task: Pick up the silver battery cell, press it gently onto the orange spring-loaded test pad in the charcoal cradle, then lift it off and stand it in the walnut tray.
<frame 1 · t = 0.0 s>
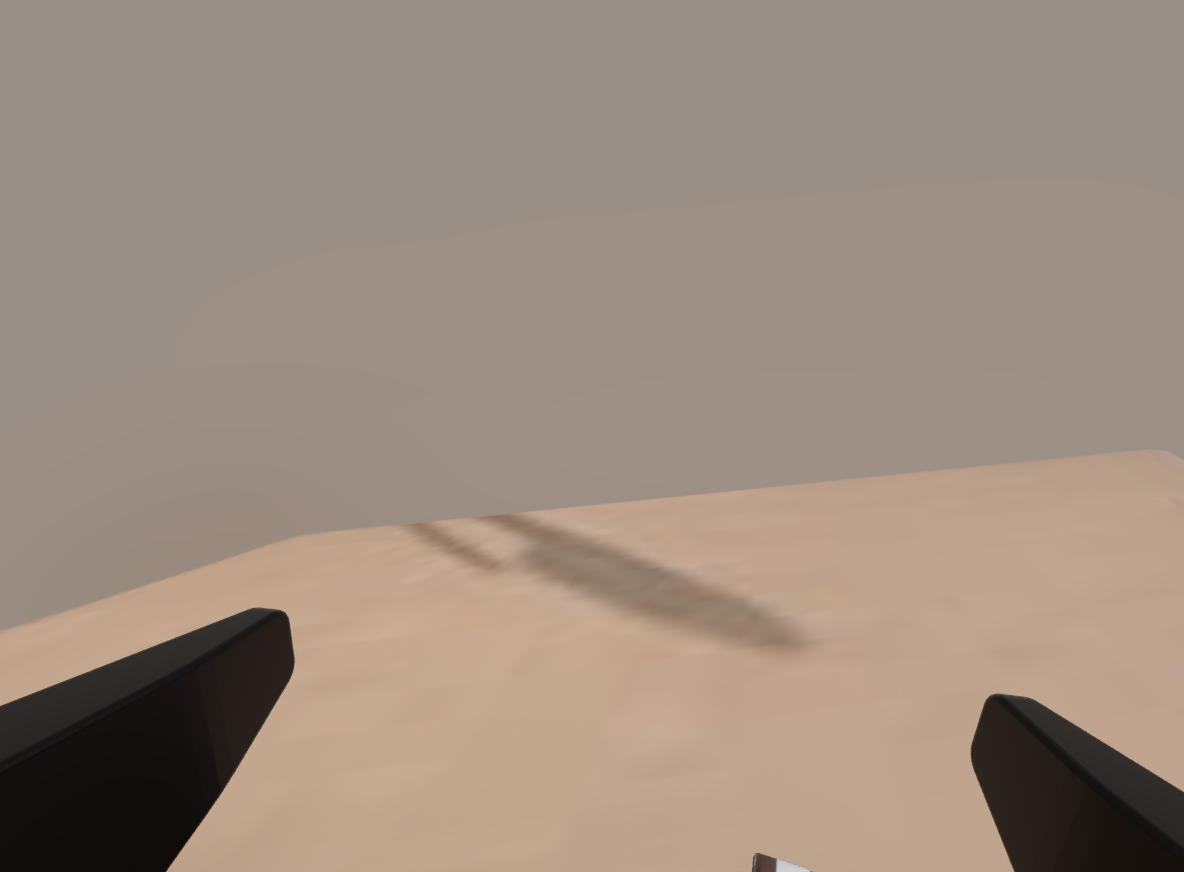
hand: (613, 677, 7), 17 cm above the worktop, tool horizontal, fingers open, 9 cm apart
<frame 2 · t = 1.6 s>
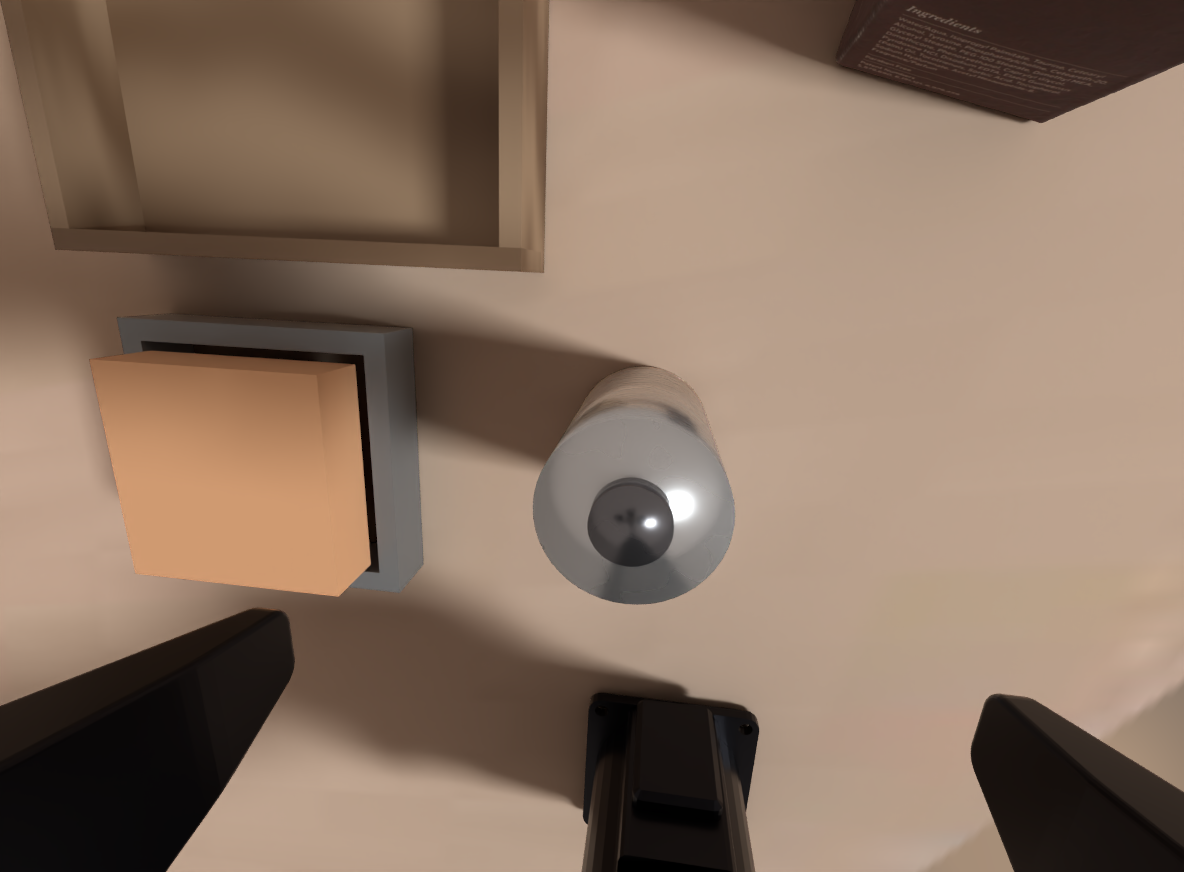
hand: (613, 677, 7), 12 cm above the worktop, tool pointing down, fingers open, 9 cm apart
tray: (322, 73, 17), on the worktop
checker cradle: (301, 443, 20), on the worktop
cell: (641, 430, 19), on the worktop
test pad: (242, 471, 17), point 3 cm above the worktop, slide at 0.0 cm
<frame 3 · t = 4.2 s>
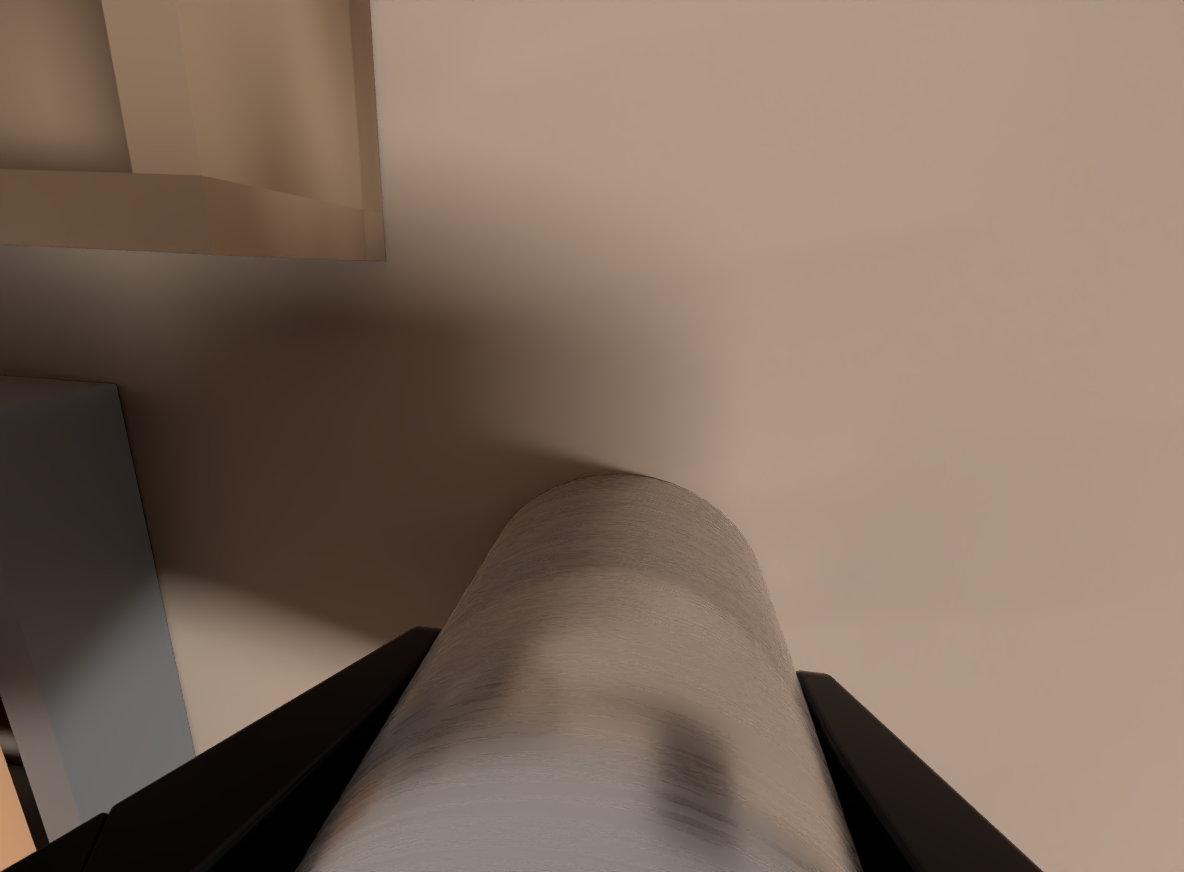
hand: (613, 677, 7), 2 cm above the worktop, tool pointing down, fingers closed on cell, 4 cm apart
cell: (621, 606, 9), on the worktop, touching gripper
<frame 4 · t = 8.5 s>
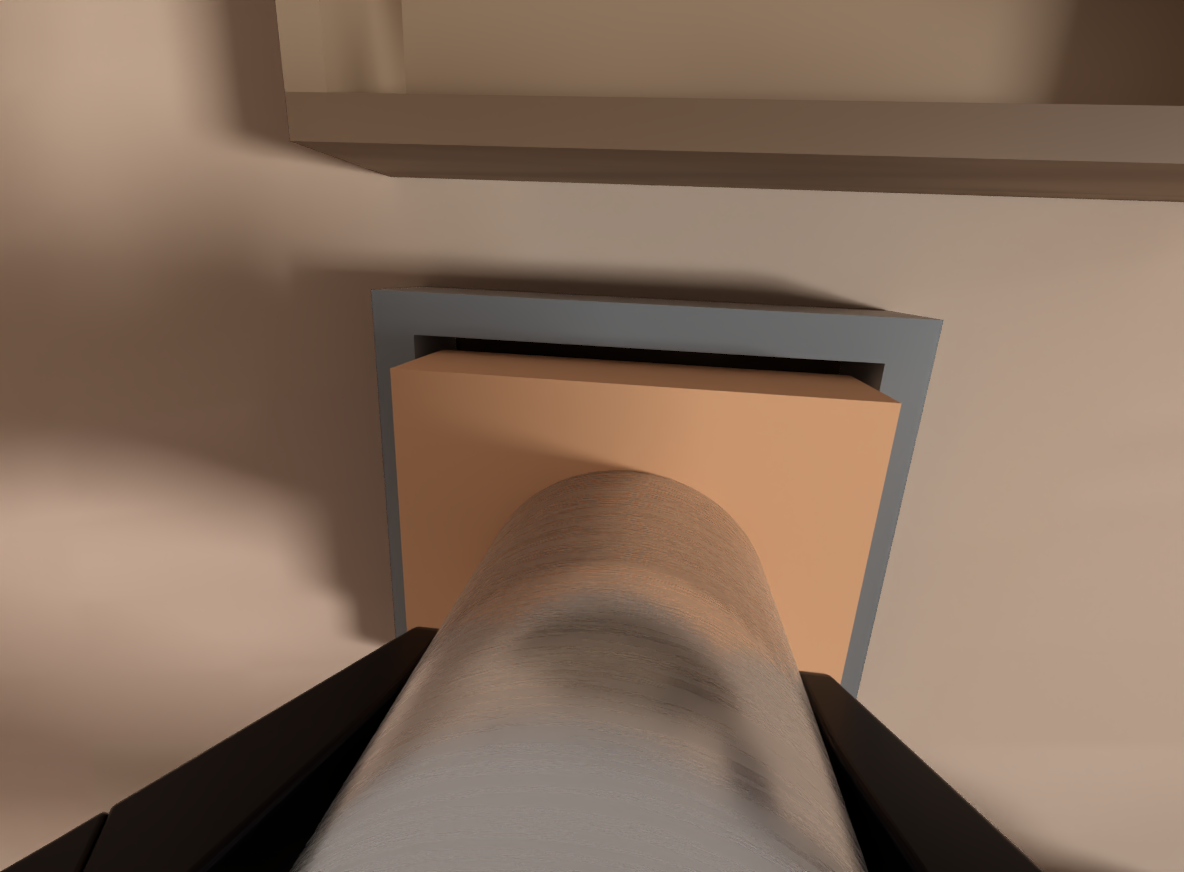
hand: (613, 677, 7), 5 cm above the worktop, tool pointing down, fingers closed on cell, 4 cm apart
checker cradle: (630, 511, 12), on the worktop
cell: (621, 602, 8), point 3 cm above the worktop, touching gripper, test pad
test pad: (622, 572, 9), point 2 cm above the worktop, slide at 0.5 cm, touching cell
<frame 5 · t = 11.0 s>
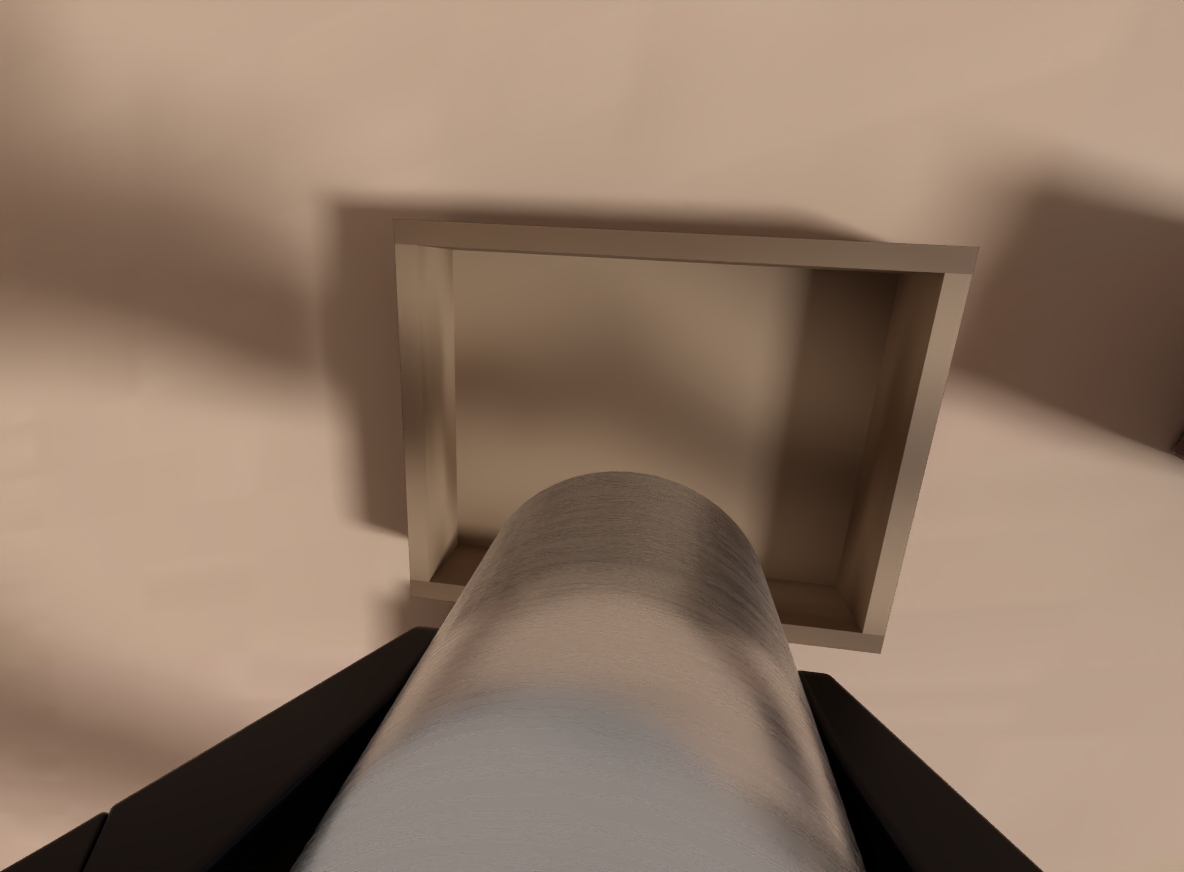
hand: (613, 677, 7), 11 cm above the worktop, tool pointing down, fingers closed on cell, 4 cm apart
tray: (652, 421, 18), on the worktop
cell: (621, 604, 8), point 10 cm above the worktop, touching gripper
when the fingers open (3 cm above the worktop, at t = 12.9 s): cell stays where it is, resting on tray.
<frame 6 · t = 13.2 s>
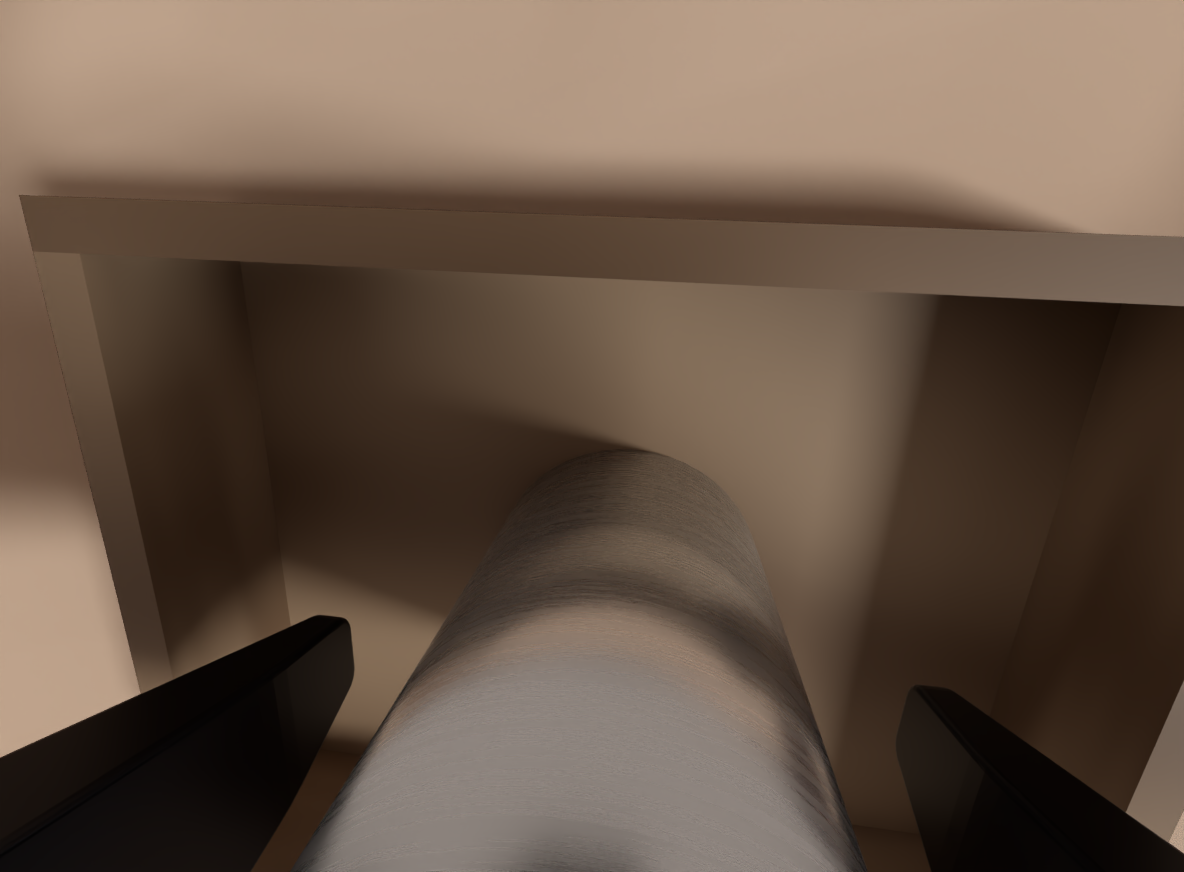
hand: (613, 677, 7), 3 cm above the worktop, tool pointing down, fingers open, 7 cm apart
tray: (626, 558, 10), on the worktop
cell: (625, 570, 9), point 1 cm above the worktop, touching tray
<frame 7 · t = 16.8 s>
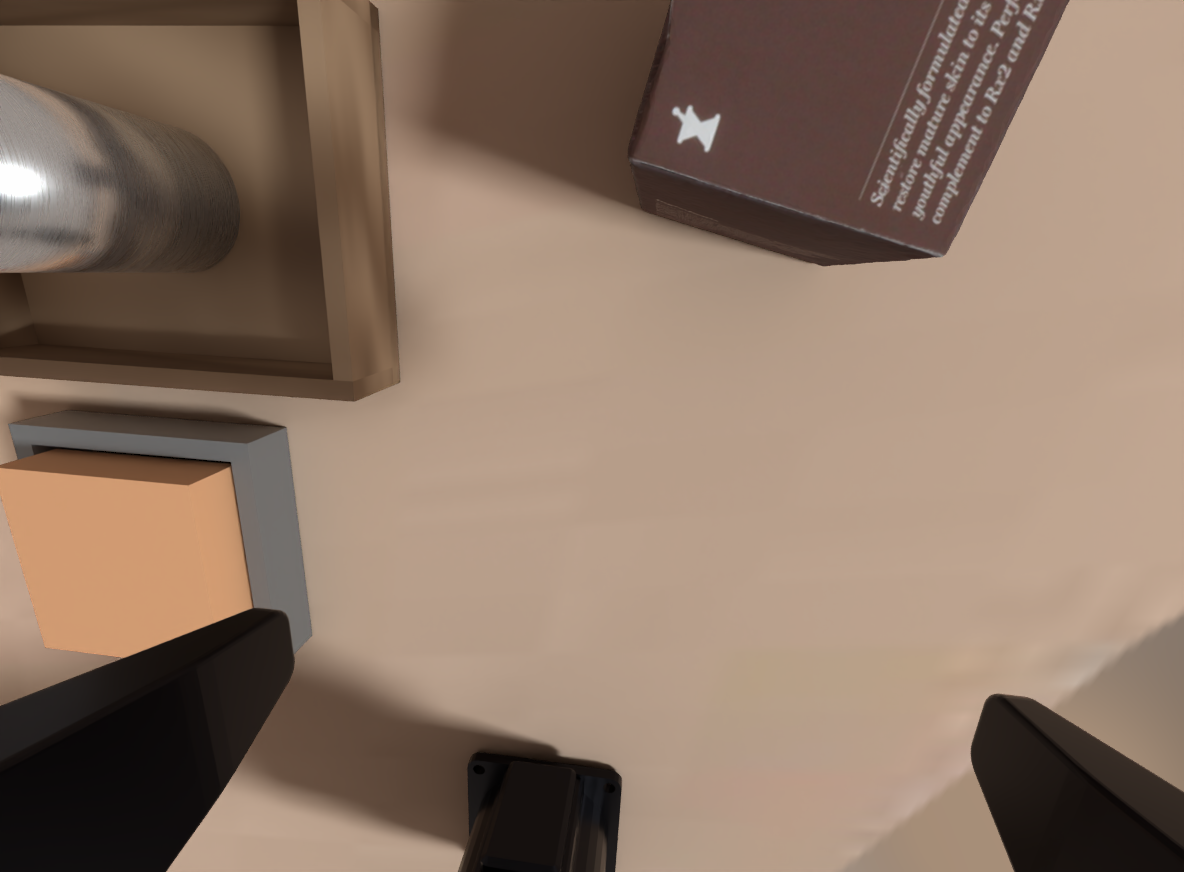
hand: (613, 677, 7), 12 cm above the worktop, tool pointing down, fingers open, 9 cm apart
tray: (189, 205, 18), on the worktop
box: (767, 135, 16), on the worktop
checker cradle: (194, 527, 22), on the worktop
cell: (176, 201, 18), resting on tray
test pad: (138, 557, 19), point 2 cm above the worktop, slide at 0.5 cm
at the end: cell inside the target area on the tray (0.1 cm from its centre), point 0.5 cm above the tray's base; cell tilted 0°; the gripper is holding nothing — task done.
